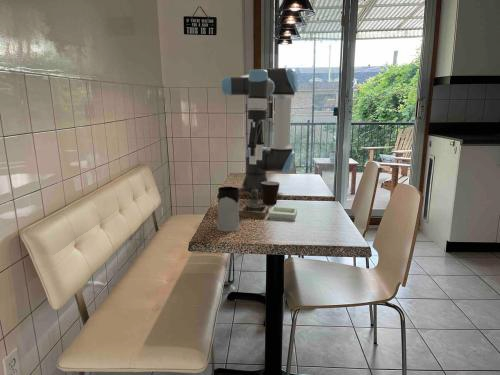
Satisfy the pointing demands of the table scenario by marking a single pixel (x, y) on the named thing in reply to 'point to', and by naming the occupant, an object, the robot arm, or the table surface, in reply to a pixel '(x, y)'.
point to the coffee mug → (270, 192)
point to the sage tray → (283, 213)
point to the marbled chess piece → (254, 201)
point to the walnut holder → (254, 212)
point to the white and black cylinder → (228, 209)
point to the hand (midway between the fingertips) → (255, 162)
